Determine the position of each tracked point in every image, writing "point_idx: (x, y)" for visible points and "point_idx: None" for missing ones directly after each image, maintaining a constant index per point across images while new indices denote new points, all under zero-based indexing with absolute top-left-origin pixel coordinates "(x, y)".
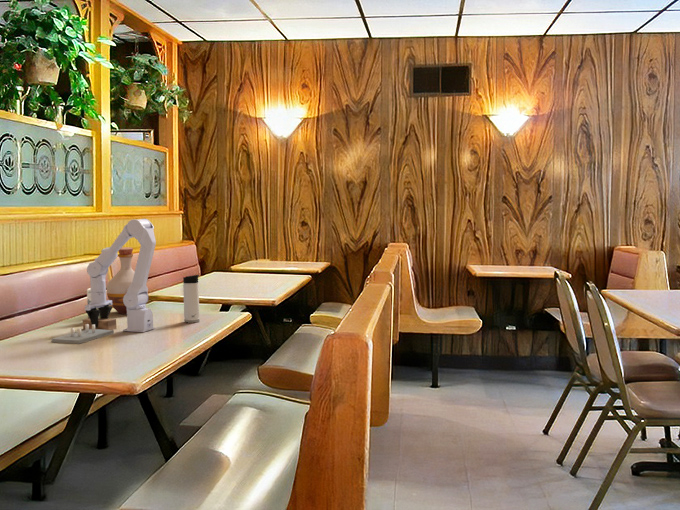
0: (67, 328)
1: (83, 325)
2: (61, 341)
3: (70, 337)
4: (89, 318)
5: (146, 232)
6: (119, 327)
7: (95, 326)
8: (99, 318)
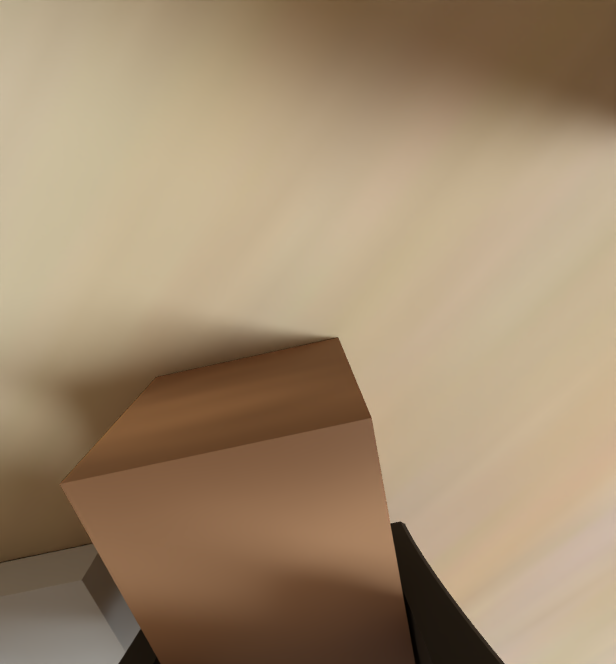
0: (28, 15)
1: (128, 419)
2: None
3: None
4: (294, 446)
5: None
6: (464, 608)
7: None
8: (395, 604)
